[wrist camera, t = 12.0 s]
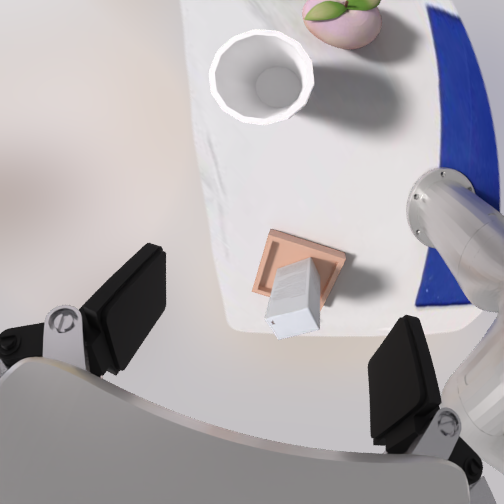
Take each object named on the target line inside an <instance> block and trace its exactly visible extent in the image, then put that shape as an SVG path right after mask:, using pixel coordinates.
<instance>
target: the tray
mask: <svg viewBox="0 0 504 504" xmlns="http://www.w3.org/2000/svg"><path fill="white" fill-rule="evenodd" d="M309 257H311V258H312V260H313V262H314V264H315V267H316V269H317V271H318V273H319V275H320V311H321V309H322V307H323V305H324V303H325V301H326V299H327V297H328V295H329V293H330V291H331V289H332V287H333V285H334V283H335V281H336V279H337V277H338V275H339V273H340V271H341V269H342V266H343V264H344V262H345V260H346V257H345V253H344V252H341V251H338V250H335V249H332V248H329V247H326V246H323V245H320V244H317V243H314V242H310V241H307V240H304V239H301V238H298V237H295V236H292V235H288V234H285V233H282V232H279V231H276V230H272V229H270V232H269V234H268V238H267V241H266V245H265V248H264V252H263V255H262V259H261V262H260V265H259V269H258V272H257V276H256V279H255V282H254V286H253V289H252V292H255V293H258V294H261V295H264V296H268V297H270V295H271V291H272V287H273V283H274V279H275V275H276V271H277V269H278V268H281V267H284V266H287V265H289V264H292V263H295V262H298V261H301V260H304V259H306V258H309Z"/></svg>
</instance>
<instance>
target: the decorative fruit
mask: <svg viewBox="0 0 504 504" xmlns="http://www.w3.org/2000/svg"><path fill="white" fill-rule="evenodd" d="M380 1H381V0H308V1H307V2H306V4H305V5H304V7H303V12H302V16H303V20H304V23H305V25H306V27H307V28H308V30H309V31H310V32H311V33H312V34H313V35H314V36H316V37H317V38H318V39H320V40H322V41H323V42H325V43H327V44H329V45H331V46H334V47H337V48H341V49H357V48H361V47H363V46H366V45H367V44H369V43H371V42H372V41H373V40H374V39H375V38H376V37H377V35H378V34H379V32H380V30H381V26H382V19H381V15H380V12H379V10H378V8H377V6H378V5H379V3H380Z"/></svg>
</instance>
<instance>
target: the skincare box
mask: <svg viewBox="0 0 504 504" xmlns="http://www.w3.org/2000/svg"><path fill="white" fill-rule="evenodd" d="M265 321H266V322H267V324H268V325H269V326H270V328H271V329H272V331H273V332H274V334H275V336H276V337H277V338H278V340H280V339H284V338H288V337H292V336H297V335H301V334H304V333H308V332H312V331H316V330H319V329H320V275H319V273H318V271H317V269H316V267H315V264H314V262H313V260H312V258H311V257H309V258H306V259H304V260H301V261H298V262H295V263H292V264H289V265H287V266H284V267H281V268H278V269H277V271H276V275H275V279H274V283H273V287H272V291H271V295H270V300H269V303H268V307H267V311H266V315H265Z"/></svg>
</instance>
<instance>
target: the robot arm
mask: <svg viewBox="0 0 504 504" xmlns="http://www.w3.org/2000/svg"><path fill="white" fill-rule="evenodd" d="M441 172H442V174H441ZM415 194H416V196H415V197H414V195H415ZM407 219H408V223H409V226H410V228H411V231H412V232H413V234H414V235H415V237H416V238H417V239H418V240H419V241H420V242H421V243H423V244H424V245H426V246H429V247H432V248H436V249H437V251H438V252H439V254H440V255H441V257H442V258H443V260H444V261H445V263H446V264H447V266H448V268H449V269H450V271H451V272H452V274H453V276H454V277H455V279H456V280H457V282H458V284H459V285H460V287H461V289H462V290H463V292H464V294H465V295H466V297H467V298H468V300H469V301H470V302H471V303H472V304H473V305H475V306H476V307H478V308H479V309H482V310H485V311H489V312H498V315H497V317H496V319H495V320H494V322H493V324H492V325H491V327H490V328H489V329H488V331H487V333H486V334H485V336H484V337H483V338H482V340H481V341H480V342H479V343H478V344H477V346H476V347H475V348H474V349H473V351H472V352H471V353H470V354H469V355H468V357H467V358H466V359H465V360H464V361H463V362H462V363H461V365H460V366H459V367H458V368H457V369H456V370H455V372H454V373H453V374H452V375H451V376H450V378H449V379H448V381H447V382H446V385H445V386H444V389H443V391H442V394H441V396H440V391H439V387H438V383H437V378H436V374H435V370H434V367H433V363H432V359H431V355H430V352H429V349H428V345H427V342H426V338H425V335H424V332H423V329H422V326H421V323H420V320H419V318H417V317H413V316H409V315H405V316H403V318H399V319H398V321H397V322H396V324H395V325H394V327H393V328H392V330H391V331H390V333H389V334H388V336H387V337H386V338H385V340H384V341H383V343H382V344H381V345H380V347H379V348H378V350H377V351H376V352H375V354H374V355H373V356H372V358H371V359H370V361H369V364H368V376H369V394H370V425H371V426H370V427H371V437H372V438H373V444H374V445H386V451H385V452H384V453H383V454H375V453H356V452H344V451H333V450H325V449H317V448H309V447H304V446H297V445H292V444H286V443H281V442H276V441H271V440H267V439H262V438H258V437H254V436H250V435H246V434H242V433H238V432H234V431H231V430H228V429H224V428H221V427H218V426H214V425H211V424H208V423H205V422H202V421H199V420H196V419H193V418H191V417H188V416H185V415H182V414H180V413H177V412H174V411H172V410H169V409H167V408H164V407H162V406H160V405H157V404H155V403H153V402H150V401H148V400H145V399H143V398H141V397H139V396H136V395H135V394H132V393H130V392H128V391H126V390H124V389H122V388H120V387H118V386H116V385H114V384H112V383H110V382H108V381H106V380H104V379H103V375H104V374H105V372H106V371H108V372H110V373H112V374H114V375H117V374H118V372H119V371H120V370H122V371H123V370H124V369H125V368H126V367H127V365H128V364H129V362H130V360H131V359H132V358H133V356H134V354H135V353H136V351H137V350H138V349H139V347H140V346H141V344H142V343H143V341H144V339H145V338H146V337H147V335H148V334H149V332H150V331H151V329H152V328H153V326H154V325H155V323H156V321H157V320H158V319H159V317H160V316H161V315H162V313H163V311H164V310H165V307H166V253H165V252H164V251H163V249H162V247H161V246H157V245H154V244H151V243H147V244H146V245H145V246H143V247H142V248H141V249H140V250H139V251H138V252H137V253H136V254H135V255H134V256H133V257H132V258H130V259H129V260H128V261H127V262H126V263H125V264H124V265H123V266H122V267H121V268H120V269H119V270H118V271H117V272H116V273H115V274H113V276H112V277H110V278H109V279H108V280H107V281H106V282H105V283H104V284H103V285H102V286H101V288H99V289H98V290H97V291H96V292H95V294H94V295H92V297H91V298H90V299H89V300H88V301H87V302H86V303H85V304H84V305H83V306H82V307H81V308H80V309H79V310H78V309H77V308H75V307H74V306H70V305H62V306H58V307H56V308H54V309H52V310H51V311H50V312H49V313H48V315H47V316H46V318H45V322H44V323H39V324H33V325H27V326H21V327H16V328H10V329H7V330H5V331H3V332H2V333H1V334H0V504H496V501H495V499H494V497H493V495H492V492H491V490H490V488H489V486H488V484H487V482H486V480H485V477H484V476H482V477H481V474H482V470H483V465H482V461H481V459H482V460H483V461H485V462H486V463H488V464H489V465H490V466H492V467H493V468H495V469H496V470H498V471H499V472H501V473H502V474H504V216H503V215H502V214H501V213H500V212H498V211H497V210H496V209H494V208H493V207H492V206H491V205H489V204H488V203H487V202H485V201H484V200H482V199H481V198H480V197H478V196H477V195H476V194H475V191H474V188H473V186H472V184H471V182H470V181H469V180H468V179H467V178H466V176H464V175H463V174H462V173H460V172H458V171H457V170H454V169H451V168H445V167H441V168H435V169H433V170H431V171H428V172H427V173H425V174H424V175H423V176H422V177H421V178H420V179H419V180H418V181H417V182H416V183H415V185H414V186H413V188H412V190H411V192H410V195H409V198H408V202H407ZM439 405H440V407H441V409H440V408H439Z"/></svg>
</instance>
